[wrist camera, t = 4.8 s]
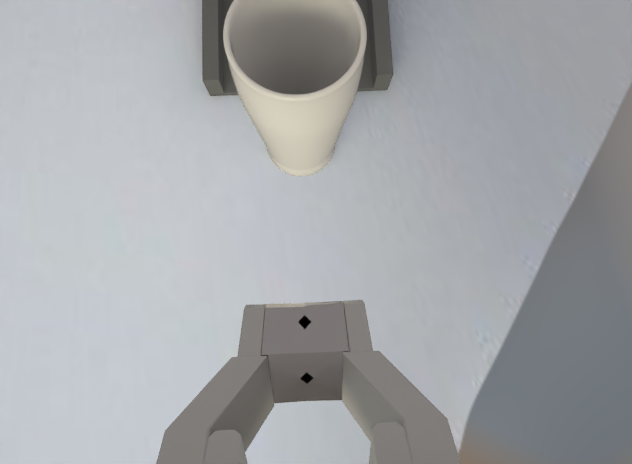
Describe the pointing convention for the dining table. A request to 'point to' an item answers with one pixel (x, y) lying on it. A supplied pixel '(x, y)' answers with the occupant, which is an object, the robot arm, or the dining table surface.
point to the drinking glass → (296, 73)
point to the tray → (375, 59)
